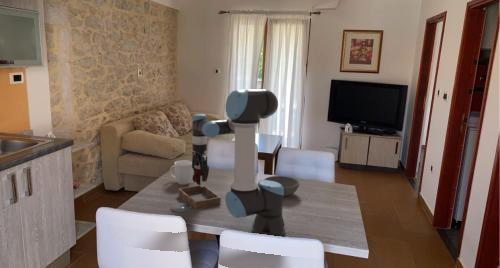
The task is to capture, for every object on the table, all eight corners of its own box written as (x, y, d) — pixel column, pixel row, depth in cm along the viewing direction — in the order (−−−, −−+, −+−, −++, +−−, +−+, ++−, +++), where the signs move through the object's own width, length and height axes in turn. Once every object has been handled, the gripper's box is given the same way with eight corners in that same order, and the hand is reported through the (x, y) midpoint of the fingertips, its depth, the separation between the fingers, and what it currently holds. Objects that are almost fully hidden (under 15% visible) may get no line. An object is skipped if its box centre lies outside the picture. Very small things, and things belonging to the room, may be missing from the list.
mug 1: (165, 183, 219) (165, 162, 216) (175, 178, 229) (175, 158, 226) (187, 187, 214) (187, 166, 211) (195, 181, 224) (196, 161, 221)
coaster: (193, 209, 183) (193, 208, 183) (174, 213, 178) (174, 212, 178) (185, 202, 192) (185, 201, 191) (167, 206, 186) (167, 205, 186)
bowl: (279, 204, 195) (280, 190, 193) (254, 192, 210) (255, 179, 208) (305, 196, 208) (306, 183, 206) (280, 185, 223) (281, 173, 222)
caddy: (220, 204, 192) (220, 197, 191) (194, 209, 183) (194, 202, 183) (203, 190, 209) (203, 184, 208) (178, 195, 201) (178, 188, 200)
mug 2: (200, 189, 188) (201, 172, 185) (187, 186, 191) (188, 168, 188) (211, 183, 197) (211, 165, 194) (198, 179, 200) (199, 162, 198)
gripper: (215, 146, 183) (214, 189, 188) (197, 138, 200) (197, 177, 205) (201, 148, 179) (201, 191, 183) (185, 140, 196) (185, 179, 201)
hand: (199, 184), depth 194 cm, fingers closed on mug 2, 8 cm apart
